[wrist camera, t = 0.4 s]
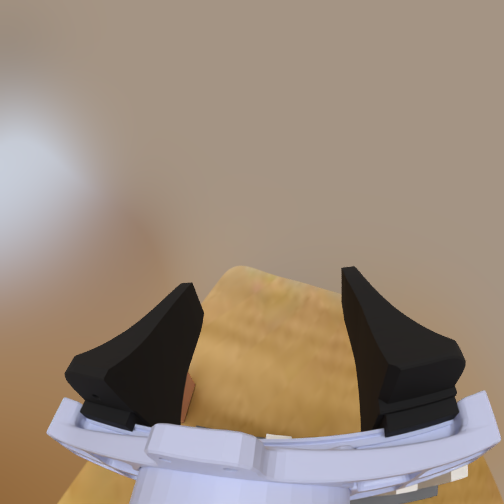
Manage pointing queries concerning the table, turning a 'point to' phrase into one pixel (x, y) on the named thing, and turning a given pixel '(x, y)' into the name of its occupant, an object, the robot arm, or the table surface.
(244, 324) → the table surface
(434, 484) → the domino
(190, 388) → the domino
